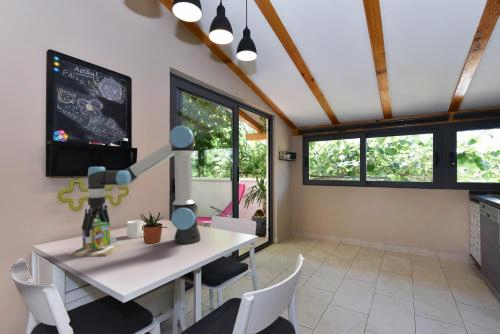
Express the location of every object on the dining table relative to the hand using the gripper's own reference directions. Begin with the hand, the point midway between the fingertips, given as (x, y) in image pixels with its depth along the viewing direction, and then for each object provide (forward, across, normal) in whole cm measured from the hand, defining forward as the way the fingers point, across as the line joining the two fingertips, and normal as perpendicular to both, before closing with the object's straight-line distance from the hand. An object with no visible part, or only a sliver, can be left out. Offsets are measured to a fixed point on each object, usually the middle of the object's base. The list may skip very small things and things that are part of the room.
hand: (96, 239), depth 127 cm
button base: (+6, -12, -5) cm, 15 cm away
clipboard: (+6, 0, 0) cm, 6 cm away
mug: (+6, -28, +7) cm, 30 cm away
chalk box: (+3, 0, 0) cm, 3 cm away
